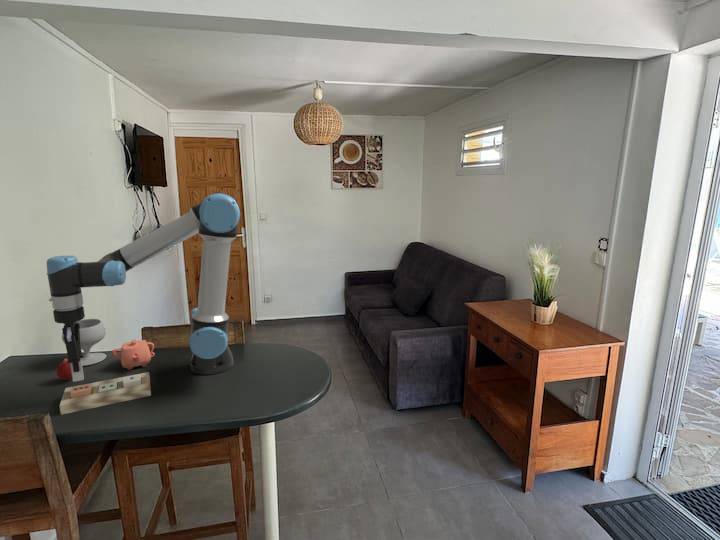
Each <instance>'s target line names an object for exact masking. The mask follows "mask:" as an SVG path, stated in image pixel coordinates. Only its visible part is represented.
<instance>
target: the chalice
mask: <svg viewBox="0 0 720 540" xmlns="http://www.w3.org/2000/svg"><path fill="white" fill-rule="evenodd" d="M77 323H79V324H80V329H79V331H80V343H81V351H83V352H84V354H83V355H84V358H80V359H81V360H82V367H85V366H90V365H95V364H98V363H100V362H102V361H104V360H105V359H106V358H107V354H106V353H104V352H91V349H92V348H93V346H95V345H97V344H98V343H99V342H101V341H102V340H103V339H104V338H105V336H106V335H107V331H106V327H105V325H104V323H103V321H102V320H101V319H97V318H86V319H85V318H83V319H82V320H80V321H77ZM63 337H64V334H63V331H62V332H61V339H62V342H63V344H65V341H64V339H63Z"/></svg>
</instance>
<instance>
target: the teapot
mask: <svg viewBox="0 0 720 540" xmlns="http://www.w3.org/2000/svg"><path fill="white" fill-rule="evenodd" d="M149 345H151V349H150V347H149ZM154 349H155V344H154V343H153V342H151V341H150V342H149V341H147V339H141V340H137V339H132V340H130V342H125V343H122V345H121V347H118V348H113V349H112V350H111V354H112V355H113V356H114V357H116V358H118V359H119V360H120V363H121V366H122V368H123V369H126V370H127V371H130V370H133V369H134V368H135V367H139V366H141V367H142V368H146V367H148V364H150V363H151V360H152V358H153V357H155V356H156V354H155V352H154ZM118 351H120V355H119V354H118V353H117V352H118Z"/></svg>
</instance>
